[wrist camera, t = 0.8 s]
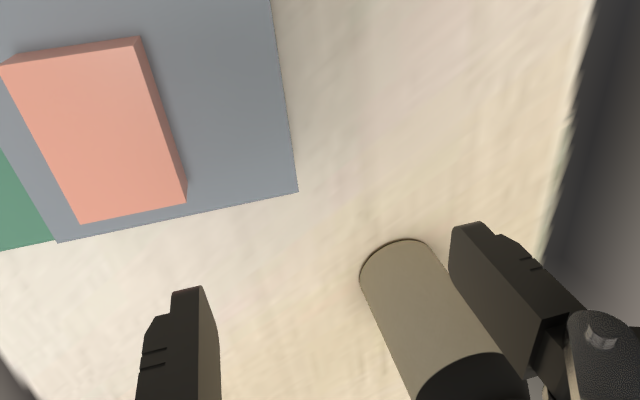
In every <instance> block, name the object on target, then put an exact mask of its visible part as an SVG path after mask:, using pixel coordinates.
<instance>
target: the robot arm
mask: <svg viewBox="0 0 640 400" xmlns="http://www.w3.org/2000/svg"><path fill="white" fill-rule="evenodd" d="M448 271H449V275H450V278H451V281H452V283H453V285H454V286H455V288H456V289H457V290H458V292H459V293H460V295H461V296H462V297H463V299H464V300H465V301H466V303H467V304H468V306H469V307H470V308H471V310H472V311H473V313H474V314H475V315H476V317H477V318H478V320H479V321H480V322H481V324H482V325H483V326H484V328H485V329H486V331H487V332H488V333H489V335H490V336H491V338H492V339H493V340H494V342H495V343H496V345H497V346H498V347H499V349H500V350H501V351H502V353H503V354H504V356H505V357H506V358H507V360H508V361H509V363H510V364H511V365H512V367H513V368H514V370H515V371H516V372H517V374H518V375H519V376H520V378H521V379H522V380H526V379H529V378H532V377H535V376H538V377H539V378H540V379H541V380H542V382H543V383H544V386H543V390H542V395H543V400H640V327H630V326H628V325H627V324H625V323H624V322H623V321H621V320H620V319H618V318H616V317H614V316H612V315H610V314H608V313H605V312H601V311H597V310H587V309H586V308H585V307H584V306H583V305H582V304H581V303H580V302H579V301H578V300H577V299H576V298H575V297H574V296H573V295H572V294H571V293H570V292H569V291H567V290H566V289H565V288H564V287H563V286H562V285H561V284H560V283H559V282H558V281H557V280H556V279H555V278H554V277H553V276H552V275H551V274H550V273H549V272H548V271H547V270H546V269H543V268H542V265H541V264H540V263H539V262H538V261H537V260H536V259H535V258H534V259H533V258H532V256H531V255H530V254H529V253H528V252H527V251H526V250H525V249H524V248H523V247H522V246H521V245H520V244H519V243H517V242H515V241H514V240H512V239H510V238H508V237H506V236H504V235H502V234H499V235H495V234H494V233H493V232H492V231H491V230H490V229H489V228H488V227H487V226H486V225H485V224H484V223H482V222H480V221H477V222H473V223H468V224H464V225H460V226H456V227H454V228H453V230H452V234H451V243H450V252H449V261H448ZM135 400H222V396H221V371H220V346H219V337H218V331H217V326H216V323H215V320H214V317H213V314H212V311H211V309H210V306H209V303H208V300H207V298H206V295H205V292H204V289H203V287H202V286H201V285H200V286H196V287H192V288H187V289H183V290H179V291H174V292H173V293H172V296H171V306H170V313H168V314H164V315H160V316H156V317H155V318H154V319H153V321H152V323H151V325H150V326H149V328H148V330H147V331H146V333H145V335H144V342H143V349H142V357H141V362H140V373H139V376H138V383H137V389H136V396H135Z"/></svg>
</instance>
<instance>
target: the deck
mask: <svg viewBox="0 0 640 400" xmlns="http://www.w3.org/2000/svg"><path fill="white" fill-rule="evenodd" d="M138 35H140V37H141V40H142V43H143V47H144V50H145V53H146V56H147V59H148V62H149V65H150V68H151V71H152V74H153V77H154V80H155V83H156V86H157V89H158V92H159V96H160V99H161V102H162V105H163V108H164V111H165V114H166V117H167V120H168V123H169V126H170V129H171V132H172V135H173V138H174V141H175V144H176V148H177V151H178V154H179V157H180V160H181V163H182V166H183V169H184V172H185V175H186V178H187V181H188V187H187V203H183V204H178V205H174V206H169V207H164V208H159V209H154V210H150V211H145V212H140V213H135V214H130V215H126V216H121V217H116V218H111V219H106V220H102V221H97V222H92V223H87V224H82V225H80V224H79V222H78V220H77V218H76V216H75V214H74V212H73V211H72V209H71V207H70V205H69V203H68V201H67V199H66V198H65V196H64V194H63V192H62V190H61V188H60V186H59V184H58V183H57V181H56V179H55V177H54V175H53V173H52V171H51V170H50V168H49V166H48V164H47V162H46V160H45V158H44V156H43V155H42V153H41V151H40V149H39V147H38V145H37V143H36V142H35V140H34V138H33V136H32V134H31V132H30V130H29V128H28V127H27V125H26V123H25V121H24V119H23V117H22V115H21V114H20V112H19V110H18V108H17V106H16V104H15V102H14V100H13V99H12V97H11V95H10V93H9V91H8V89H7V87H6V86H5V84H4V82H3V80H2V78H1V76H0V148H1V149H2V151H3V153H4V155H5V156H6V158H7V160H8V161H9V163H10V165H11V166H12V168H13V170H14V171H15V173H16V175H17V176H18V178H19V180H20V181H21V183H22V185H23V187H24V188H25V190H26V192H27V193H28V195H29V197H30V198H31V200H32V202H33V203H34V205H35V207H36V208H37V210H38V212H39V213H40V215H41V217H42V219H43V220H44V222H45V224H46V225H47V227H48V229H49V230H50V232H51V234H52V235H53V237H54V239H55V240H56V242H57V244H58V243H62V242H67V241H72V240H76V239H81V238H86V237H90V236H95V235H100V234H105V233H109V232H114V231H119V230H123V229H128V228H133V227H137V226H142V225H147V224H152V223H156V222H161V221H166V220H170V219H175V218H180V217H184V216H189V215H194V214H198V213H203V212H208V211H213V210H217V209H222V208H227V207H231V206H236V205H241V204H245V203H250V202H255V201H260V200H264V199H269V198H274V197H278V196H283V195H288V194H292V193H297V192H299V190H298V183H297V176H296V170H295V163H294V156H293V150H292V143H291V137H290V130H289V123H288V117H287V110H286V104H285V97H284V90H283V84H282V77H281V71H280V64H279V57H278V51H277V44H276V38H275V31H274V24H273V18H272V11H271V5H270V0H0V63H2V62H4V61H5V60H7V59H8V58H10V57H12V56H13V55H15V54H17V53H24V52H31V51H38V50H44V49H51V48H58V47H65V46H71V45H78V44H85V43H91V42H98V41H105V40H112V39H118V38H125V37H132V36H138Z"/></svg>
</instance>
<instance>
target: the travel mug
mask: <svg viewBox="0 0 640 400" xmlns="http://www.w3.org/2000/svg"><path fill="white" fill-rule="evenodd" d="M360 286H361V289H362V291H363V294H364V296H365V298H366V300H367V302H368V305H369V307H370V309H371V311H372V313H373V316H374V318H375V320H376V322H377V325H378V327H379V329H380V331H381V333H382V336H383V338H384V340H385V342H386V345H387V347H388V349H389V351H390V353H391V356H392V358H393V360H394V362H395V365H396V367H397V369H398V371H399V373H400V376H401V378H402V380H403V382H404V385H405V387H406V389H407V391H408V393H409V396H410V398H411V400H530V395H529V389H528V383H527V380H522V379H521V378H520V376H519V375H518V374H517V372H516V371H515V370H514V368H513V367H512V365H511V364H510V363H509V361H508V360H507V358H506V357H505V356H504V354H503V353H502V351H501V350H500V349H499V347H498V346H497V345H496V343H495V342H494V340H493V339H492V338H491V336H490V335H489V333H488V332H487V331H486V329H485V328H484V326H483V325H482V324H481V322H480V321H479V320H478V318H477V317H476V315H475V314H474V313H473V311H472V310H471V308H470V307H469V306H468V304H467V303H466V301H465V300H464V299H463V297H462V296H461V295H460V293H459V292H458V290H457V289H456V288H455V286H454V285H453V283H452V281H451V278H450V275H449V273H448V272H447V270H446V269H445V268H444V266H443V265H442V264H441V262H440V261H439V260H438V258H437V257H436V255H435V254H434V253H433V251H432V250H431V249H430V248H429V247H428V246H427V245H426V244H424V243H422V242H419V241H413V240H405V241H399V242H395V243H392V244H389V245H387V246H385V247H383V248H382V249H380V250H379V251H377V252H376V253H375V254H374V255H372V256H371V257H370V258H369V260H368V261H367V262H366V264H365V265H364V267H363V269H362V271H361V274H360Z"/></svg>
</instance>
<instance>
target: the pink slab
mask: <svg viewBox="0 0 640 400" xmlns="http://www.w3.org/2000/svg"><path fill="white" fill-rule="evenodd" d="M0 76H1V78H2V80H3V82H4V84H5V86H6V87H7V89H8V91H9V93H10V95H11V97H12V99H13V100H14V102H15V104H16V106H17V108H18V110H19V112H20V114H21V115H22V117H23V119H24V121H25V123H26V125H27V127H28V128H29V130H30V132H31V134H32V136H33V138H34V140H35V142H36V143H37V145H38V147H39V149H40V151H41V153H42V155H43V156H44V158H45V160H46V162H47V164H48V166H49V168H50V170H51V171H52V173H53V175H54V177H55V179H56V181H57V183H58V184H59V186H60V188H61V190H62V192H63V194H64V196H65V198H66V199H67V201H68V203H69V205H70V207H71V209H72V211H73V212H74V214H75V216H76V218H77V220H78V222H79V224H80V225H82V224H87V223H92V222H97V221H102V220H106V219H111V218H116V217H121V216H126V215H130V214H135V213H140V212H145V211H150V210H154V209H159V208H164V207H169V206H174V205H178V204H183V203H187V187H188V181H187V178H186V175H185V172H184V169H183V166H182V163H181V160H180V157H179V154H178V151H177V148H176V144H175V141H174V138H173V135H172V132H171V129H170V126H169V123H168V120H167V117H166V114H165V111H164V108H163V105H162V102H161V99H160V96H159V92H158V89H157V86H156V83H155V80H154V77H153V74H152V71H151V68H150V65H149V62H148V59H147V56H146V53H145V50H144V47H143V43H142V40H141V37H140V35H138V36H132V37H125V38H118V39H112V40H105V41H98V42H91V43H85V44H78V45H71V46H65V47H58V48H51V49H44V50H38V51H31V52H24V53H17V54H15V55H13V56H12V57H10V58H8V59H7V60H5V61H4V62H2V63H0Z"/></svg>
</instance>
